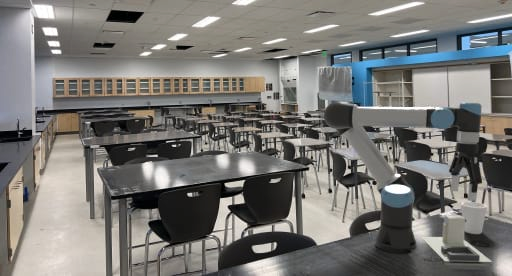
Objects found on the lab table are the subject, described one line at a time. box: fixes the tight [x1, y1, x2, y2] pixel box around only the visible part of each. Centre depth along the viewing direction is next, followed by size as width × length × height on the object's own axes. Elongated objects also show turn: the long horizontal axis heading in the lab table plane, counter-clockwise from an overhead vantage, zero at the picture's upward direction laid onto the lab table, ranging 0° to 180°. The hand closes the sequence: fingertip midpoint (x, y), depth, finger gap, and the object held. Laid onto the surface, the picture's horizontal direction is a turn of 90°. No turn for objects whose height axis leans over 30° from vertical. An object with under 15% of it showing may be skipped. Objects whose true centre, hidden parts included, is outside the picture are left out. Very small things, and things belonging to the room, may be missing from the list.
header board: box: [421, 236, 493, 267], centre depth 143 cm, size 16×23×4 cm
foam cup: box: [460, 201, 487, 235], centre depth 160 cm, size 10×9×13 cm
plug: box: [441, 214, 466, 243], centre depth 149 cm, size 8×4×10 cm, turn 86°
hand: (462, 195), depth 149 cm, fingers open, 13 cm apart
